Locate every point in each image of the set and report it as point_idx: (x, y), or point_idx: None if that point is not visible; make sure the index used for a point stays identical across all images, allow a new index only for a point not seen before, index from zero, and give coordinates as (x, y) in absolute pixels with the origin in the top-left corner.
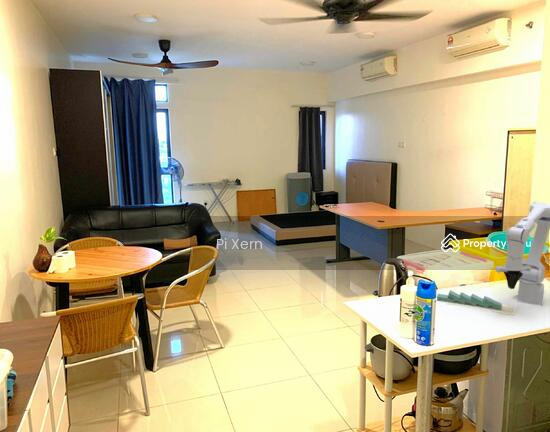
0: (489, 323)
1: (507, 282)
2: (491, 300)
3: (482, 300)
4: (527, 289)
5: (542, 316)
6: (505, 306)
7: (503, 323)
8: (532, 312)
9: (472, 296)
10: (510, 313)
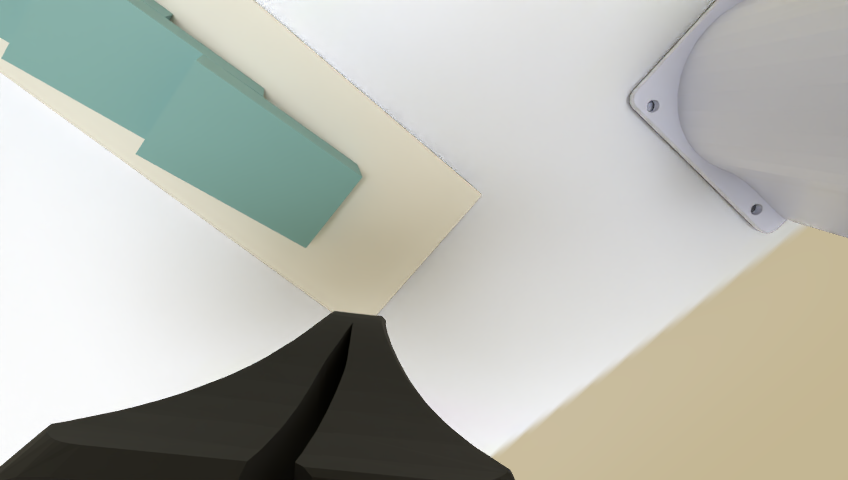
0: (80, 380)
1: (298, 340)
2: (240, 153)
3: (163, 100)
4: (801, 156)
5: (565, 380)
6: (415, 173)
7: None
8: (558, 308)
9: (9, 47)
10: (344, 304)
